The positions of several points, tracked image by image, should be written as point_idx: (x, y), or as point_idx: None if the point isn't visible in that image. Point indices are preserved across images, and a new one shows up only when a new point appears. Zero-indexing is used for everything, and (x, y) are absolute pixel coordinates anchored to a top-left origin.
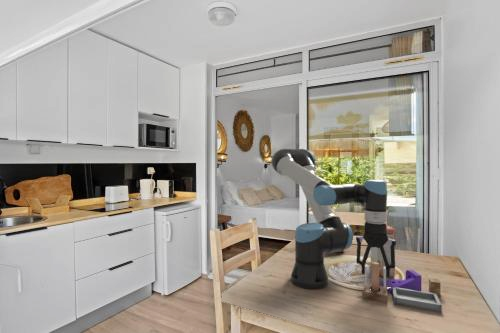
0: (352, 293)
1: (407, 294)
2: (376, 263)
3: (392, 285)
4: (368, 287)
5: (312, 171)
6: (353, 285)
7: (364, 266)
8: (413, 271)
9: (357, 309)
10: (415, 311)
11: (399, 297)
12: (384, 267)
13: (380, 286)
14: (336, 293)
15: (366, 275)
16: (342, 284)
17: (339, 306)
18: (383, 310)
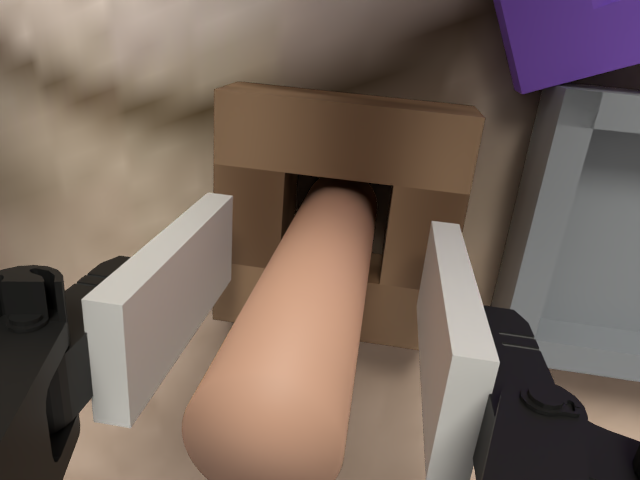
0: (139, 212)
1: None
2: (287, 433)
3: (587, 2)
4: (264, 207)
5: None
6: (125, 3)
7: (90, 385)
8: None
9: None
10: (635, 404)
11: (552, 357)
12: (460, 396)
13: (404, 139)
14: (16, 250)
15: (185, 338)
16: (14, 18)
17: (84, 436)
18: (376, 433)
